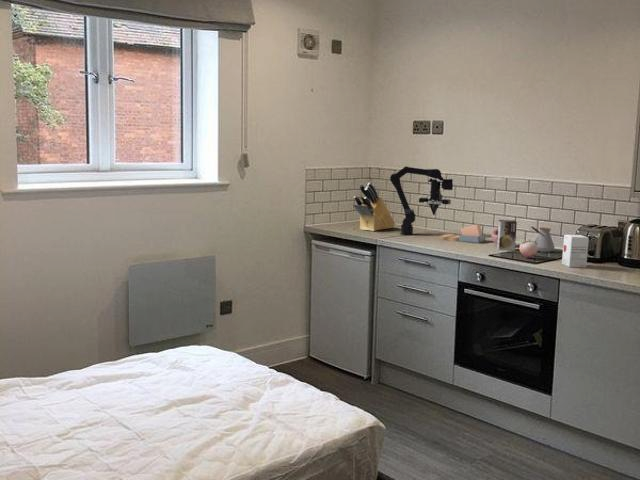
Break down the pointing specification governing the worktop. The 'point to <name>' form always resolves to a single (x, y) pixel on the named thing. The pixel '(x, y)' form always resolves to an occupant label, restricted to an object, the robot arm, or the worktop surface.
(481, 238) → the slate tray
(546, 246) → the coffee pot
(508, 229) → the coffee box
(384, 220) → the knife block
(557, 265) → the worktop surface
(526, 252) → the decorative fruit
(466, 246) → the worktop surface
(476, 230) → the terracotta block
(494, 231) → the mortar and pestle
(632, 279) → the worktop surface
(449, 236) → the tan wooden slab
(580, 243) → the supplement box
